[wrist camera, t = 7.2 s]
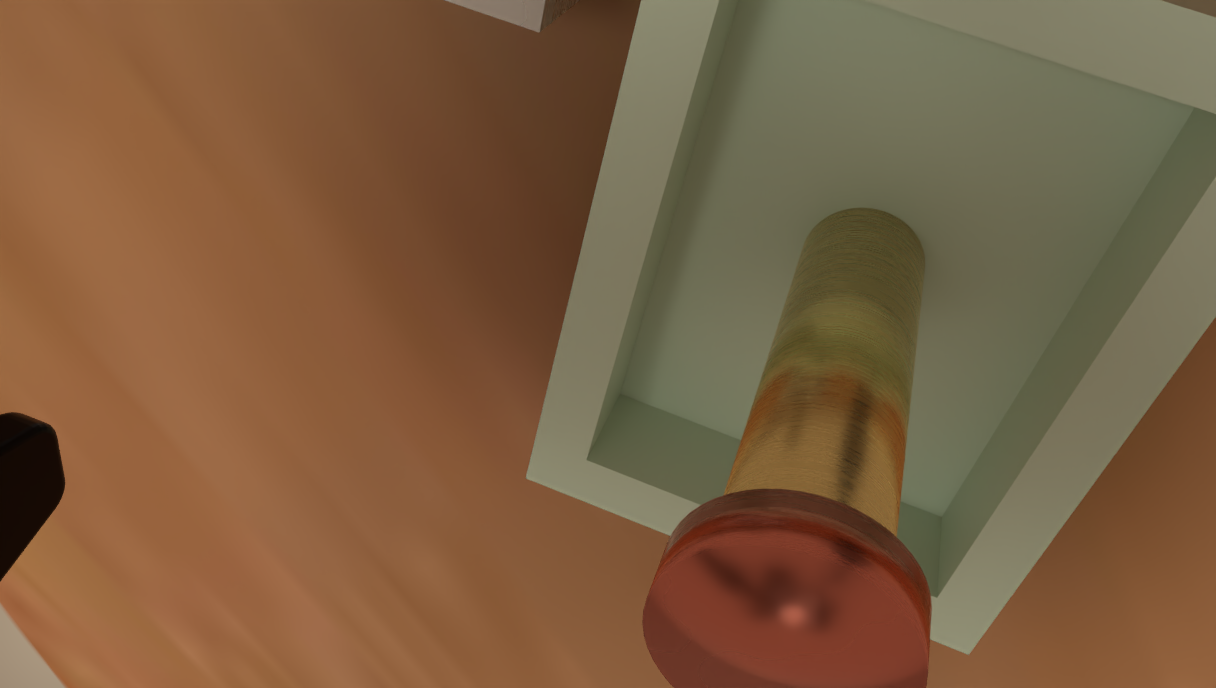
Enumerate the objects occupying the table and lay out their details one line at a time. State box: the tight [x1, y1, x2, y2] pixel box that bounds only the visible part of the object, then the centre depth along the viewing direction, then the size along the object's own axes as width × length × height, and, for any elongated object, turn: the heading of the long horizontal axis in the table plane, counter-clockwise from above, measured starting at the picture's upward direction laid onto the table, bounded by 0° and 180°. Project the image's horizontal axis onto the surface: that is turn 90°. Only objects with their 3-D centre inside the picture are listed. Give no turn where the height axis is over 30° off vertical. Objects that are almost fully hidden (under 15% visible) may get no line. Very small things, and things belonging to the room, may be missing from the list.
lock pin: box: [643, 208, 932, 688], centre depth 16 cm, size 3×3×10 cm
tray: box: [526, 0, 1216, 655], centre depth 19 cm, size 10×13×3 cm
